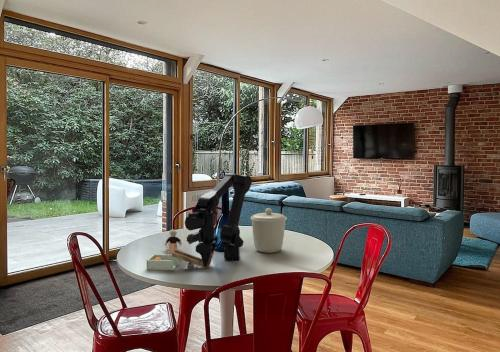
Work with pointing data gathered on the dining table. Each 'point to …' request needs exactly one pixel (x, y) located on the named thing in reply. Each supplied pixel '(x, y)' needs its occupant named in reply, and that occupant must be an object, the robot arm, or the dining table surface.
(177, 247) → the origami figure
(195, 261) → the brown wooden ramp
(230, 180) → the robot arm
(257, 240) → the canister
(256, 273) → the dining table surface
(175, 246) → the grandmother figurine
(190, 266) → the fulcrum
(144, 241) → the dining table surface
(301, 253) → the dining table surface
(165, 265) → the tray
